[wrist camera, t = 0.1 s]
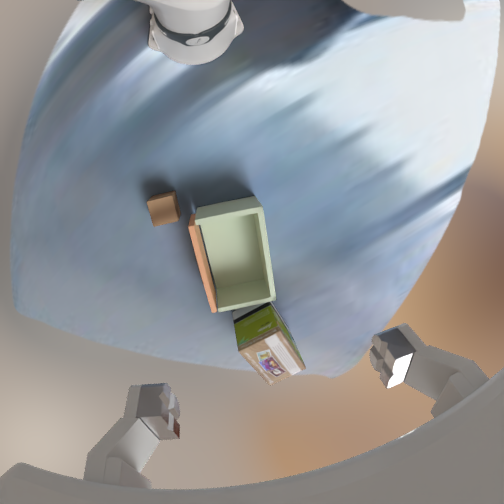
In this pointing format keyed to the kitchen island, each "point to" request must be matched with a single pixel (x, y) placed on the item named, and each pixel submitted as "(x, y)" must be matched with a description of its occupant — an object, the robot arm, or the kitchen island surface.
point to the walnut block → (164, 208)
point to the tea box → (266, 342)
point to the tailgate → (202, 262)
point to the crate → (238, 252)
